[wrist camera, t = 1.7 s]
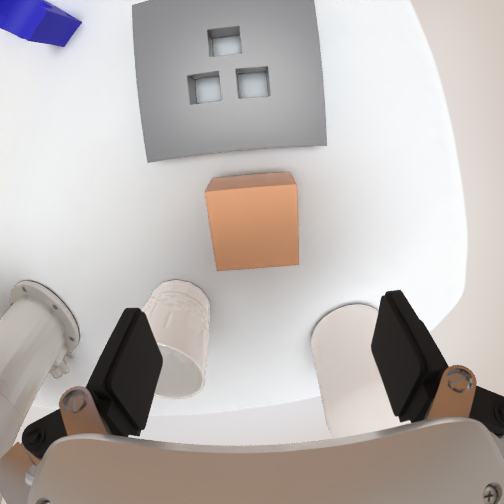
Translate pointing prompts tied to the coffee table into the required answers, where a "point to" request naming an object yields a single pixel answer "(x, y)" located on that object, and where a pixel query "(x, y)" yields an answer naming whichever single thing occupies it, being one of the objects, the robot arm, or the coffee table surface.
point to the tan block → (253, 220)
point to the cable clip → (37, 21)
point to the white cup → (180, 337)
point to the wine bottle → (350, 373)
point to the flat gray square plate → (227, 76)
